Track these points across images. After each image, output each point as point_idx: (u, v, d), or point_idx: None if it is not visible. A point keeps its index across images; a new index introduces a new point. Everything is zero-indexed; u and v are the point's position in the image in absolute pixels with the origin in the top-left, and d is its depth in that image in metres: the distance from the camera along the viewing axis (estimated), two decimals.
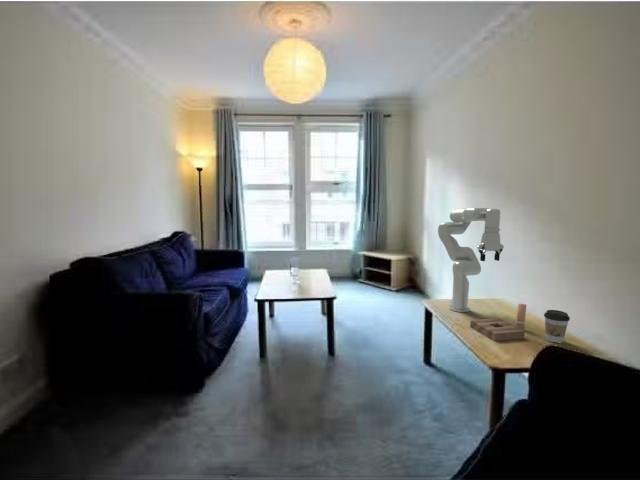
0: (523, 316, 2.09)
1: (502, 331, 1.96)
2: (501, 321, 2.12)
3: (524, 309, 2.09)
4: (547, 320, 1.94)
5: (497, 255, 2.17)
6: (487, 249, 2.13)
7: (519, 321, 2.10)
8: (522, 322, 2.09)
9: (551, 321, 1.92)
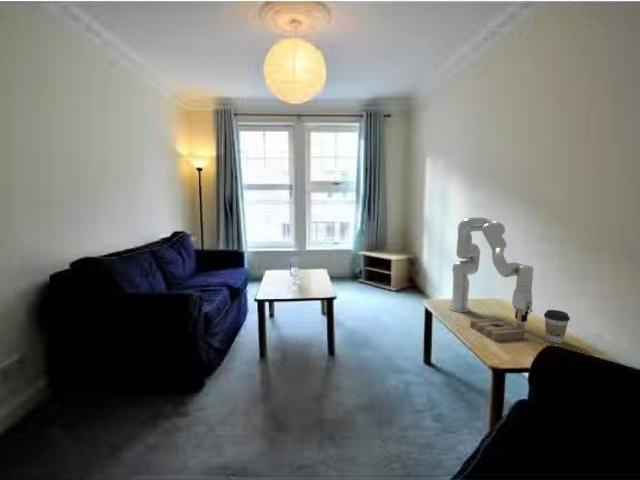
0: None
1: (502, 331, 1.96)
2: (501, 321, 2.12)
3: None
4: (547, 320, 1.94)
5: None
6: None
7: (519, 321, 2.10)
8: (522, 322, 2.09)
9: (551, 321, 1.92)
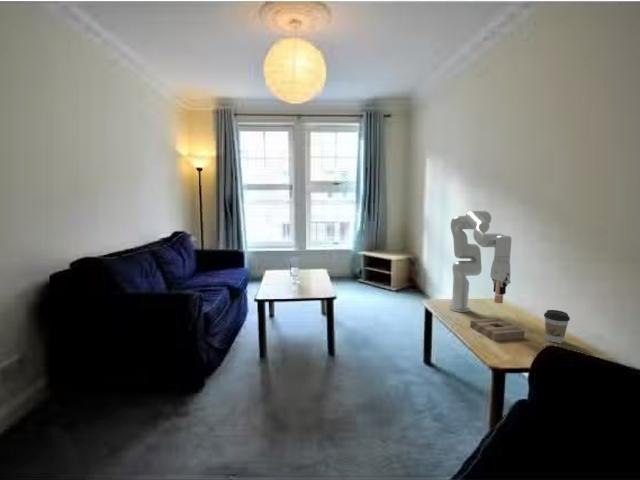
0: None
1: (502, 331, 1.96)
2: (501, 321, 2.12)
3: None
4: (547, 320, 1.94)
5: None
6: None
7: (497, 294, 2.02)
8: (500, 295, 2.01)
9: (551, 321, 1.92)
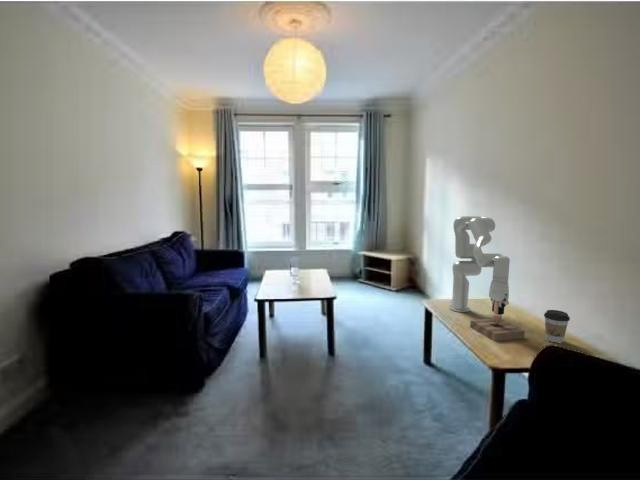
0: None
1: (502, 331, 1.96)
2: (501, 321, 2.12)
3: None
4: (547, 320, 1.94)
5: None
6: None
7: (496, 314, 2.03)
8: (499, 315, 2.03)
9: (551, 321, 1.92)
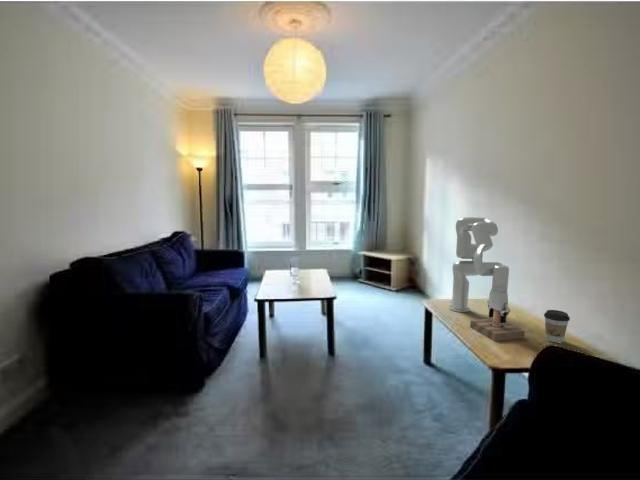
0: (499, 319, 2.03)
1: (502, 331, 1.96)
2: None
3: (500, 312, 2.03)
4: (547, 320, 1.94)
5: None
6: None
7: (495, 324, 2.04)
8: (498, 325, 2.04)
9: (551, 321, 1.92)
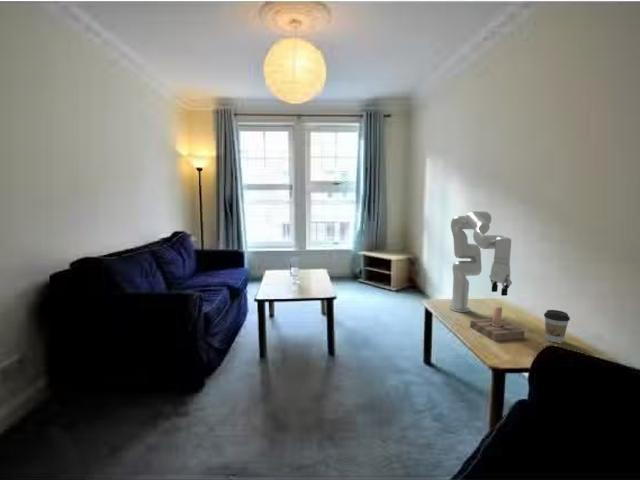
0: (499, 319, 2.03)
1: (502, 331, 1.96)
2: (501, 321, 2.12)
3: (500, 312, 2.03)
4: (547, 320, 1.94)
5: (496, 286, 2.06)
6: None
7: (495, 324, 2.04)
8: (498, 325, 2.04)
9: (551, 321, 1.92)
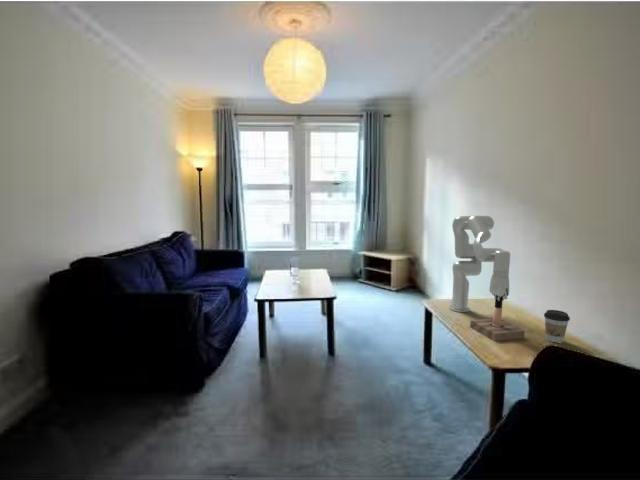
0: (499, 319, 2.03)
1: (502, 331, 1.96)
2: (501, 321, 2.12)
3: (500, 312, 2.03)
4: (547, 320, 1.94)
5: None
6: None
7: (495, 324, 2.04)
8: (498, 325, 2.04)
9: (551, 321, 1.92)
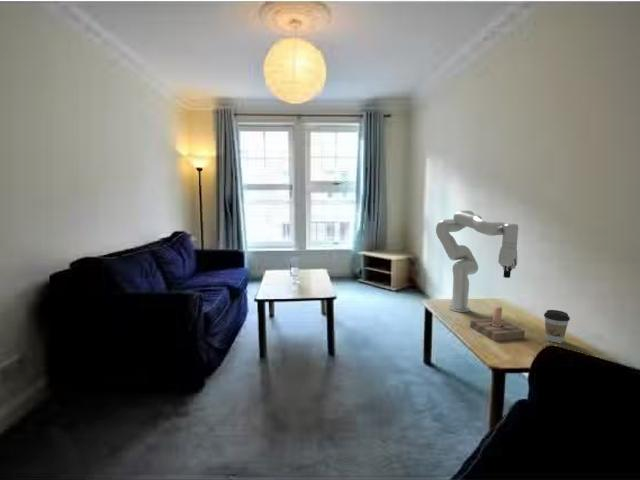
0: (499, 319, 2.03)
1: (502, 331, 1.96)
2: (501, 321, 2.12)
3: (500, 312, 2.03)
4: (547, 320, 1.94)
5: None
6: None
7: (495, 324, 2.04)
8: (498, 325, 2.04)
9: (551, 321, 1.92)
